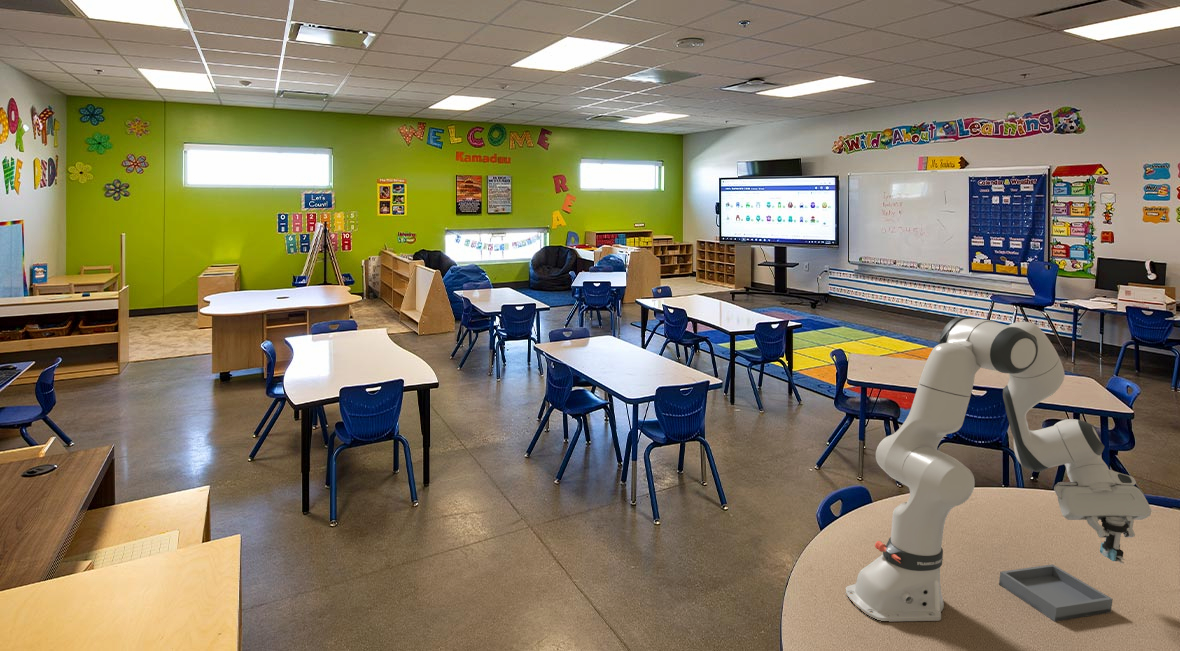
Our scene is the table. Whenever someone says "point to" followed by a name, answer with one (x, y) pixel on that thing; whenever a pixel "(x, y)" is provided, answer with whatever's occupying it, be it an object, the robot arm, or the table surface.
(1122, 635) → the table surface
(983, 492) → the table surface
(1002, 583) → the dock tray
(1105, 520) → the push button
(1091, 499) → the robot arm
